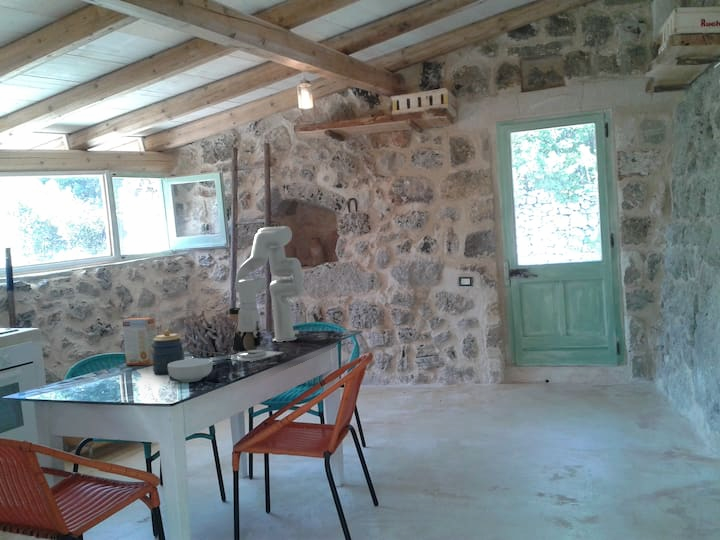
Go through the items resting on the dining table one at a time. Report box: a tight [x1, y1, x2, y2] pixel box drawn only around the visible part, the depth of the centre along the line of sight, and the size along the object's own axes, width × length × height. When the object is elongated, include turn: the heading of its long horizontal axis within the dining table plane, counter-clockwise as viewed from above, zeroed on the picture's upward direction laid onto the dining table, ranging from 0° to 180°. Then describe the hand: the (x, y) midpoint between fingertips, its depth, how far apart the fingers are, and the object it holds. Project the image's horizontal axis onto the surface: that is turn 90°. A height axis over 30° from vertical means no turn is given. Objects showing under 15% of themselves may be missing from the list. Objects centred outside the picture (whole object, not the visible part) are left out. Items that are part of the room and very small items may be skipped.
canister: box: [151, 329, 186, 376], centre depth 268 cm, size 13×13×18 cm
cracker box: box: [122, 317, 157, 367], centre depth 290 cm, size 14×6×21 cm, turn 65°
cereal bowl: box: [168, 358, 213, 383], centre depth 249 cm, size 17×17×7 cm
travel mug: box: [228, 307, 246, 351], centre depth 315 cm, size 8×8×20 cm
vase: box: [243, 332, 259, 351], centre depth 292 cm, size 7×7×9 cm
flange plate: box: [230, 349, 284, 363], centre depth 292 cm, size 20×20×2 cm
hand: (251, 345), depth 292 cm, fingers open, 7 cm apart
